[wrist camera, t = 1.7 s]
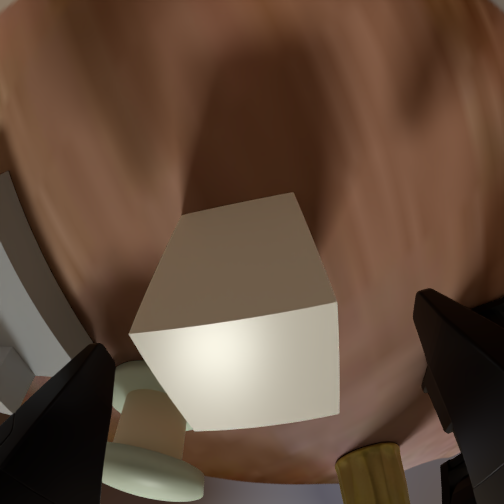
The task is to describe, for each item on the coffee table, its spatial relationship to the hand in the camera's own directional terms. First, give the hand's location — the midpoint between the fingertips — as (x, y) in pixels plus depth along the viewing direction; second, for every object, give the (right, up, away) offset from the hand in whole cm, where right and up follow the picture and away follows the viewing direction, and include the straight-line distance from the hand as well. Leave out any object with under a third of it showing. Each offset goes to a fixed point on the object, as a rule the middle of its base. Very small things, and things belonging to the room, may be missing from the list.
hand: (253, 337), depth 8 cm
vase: (+10, -16, +14) cm, 24 cm away
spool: (-5, -6, +8) cm, 11 cm away
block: (0, +2, +4) cm, 4 cm away
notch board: (-16, 0, +5) cm, 17 cm away
